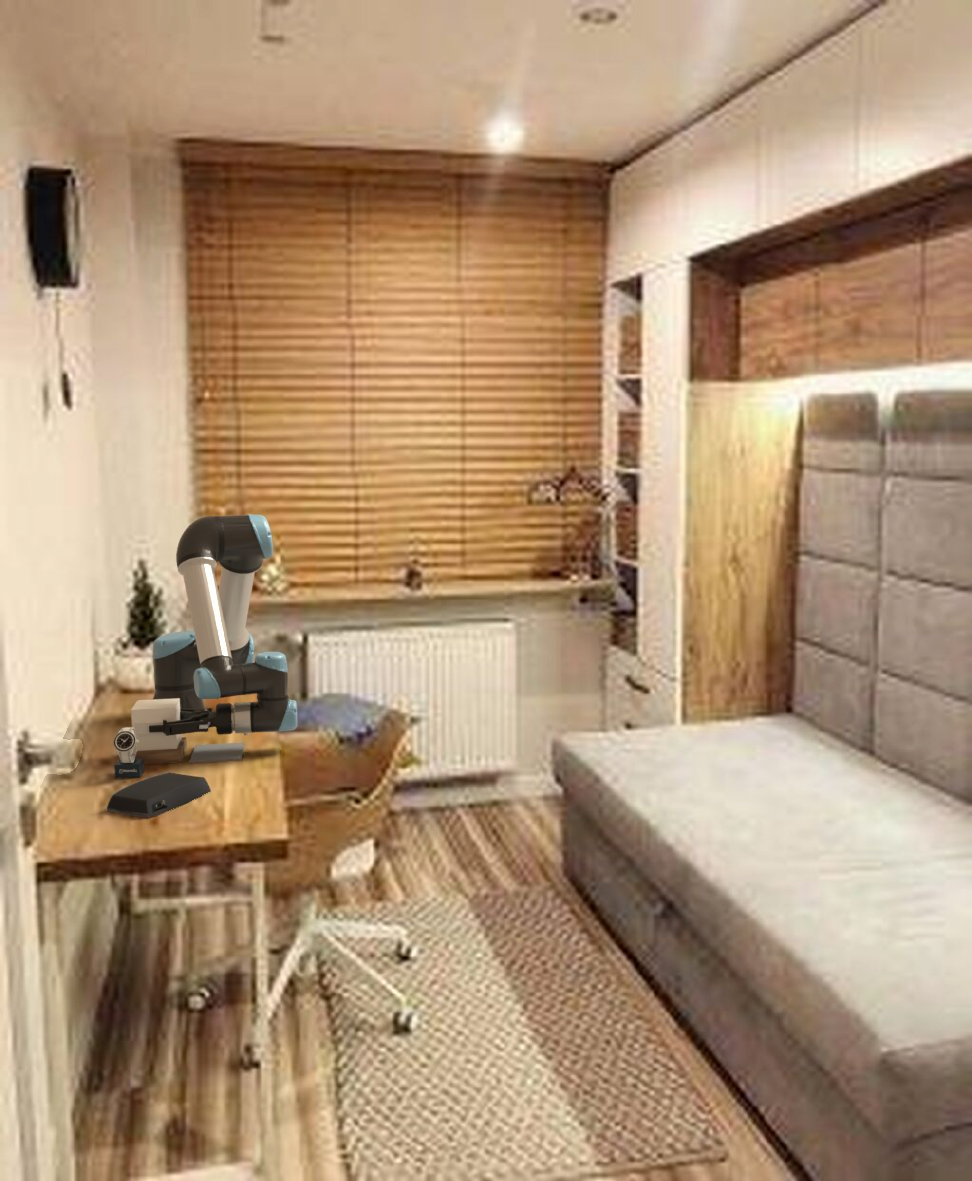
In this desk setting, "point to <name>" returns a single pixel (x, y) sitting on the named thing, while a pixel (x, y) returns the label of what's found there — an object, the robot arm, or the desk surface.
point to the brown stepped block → (164, 754)
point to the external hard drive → (157, 794)
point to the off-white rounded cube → (156, 713)
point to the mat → (217, 752)
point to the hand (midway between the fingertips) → (138, 723)
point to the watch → (127, 754)
